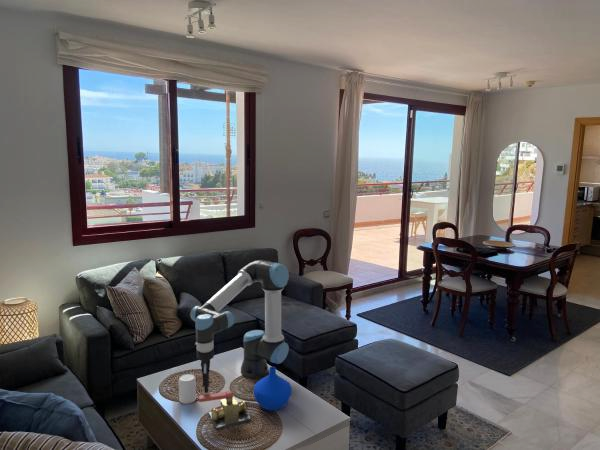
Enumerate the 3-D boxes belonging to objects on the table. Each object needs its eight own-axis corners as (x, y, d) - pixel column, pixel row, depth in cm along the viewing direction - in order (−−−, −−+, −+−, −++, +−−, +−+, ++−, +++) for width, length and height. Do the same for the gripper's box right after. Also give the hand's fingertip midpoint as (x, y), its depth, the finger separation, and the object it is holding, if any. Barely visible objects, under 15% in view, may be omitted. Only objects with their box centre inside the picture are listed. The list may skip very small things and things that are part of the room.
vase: (248, 399, 221) (248, 363, 218) (283, 391, 228) (283, 356, 225) (260, 419, 204) (260, 380, 201) (297, 410, 211) (297, 373, 208)
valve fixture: (241, 406, 215) (241, 386, 213) (250, 420, 203) (250, 399, 202) (208, 414, 208) (208, 394, 206) (216, 429, 196) (216, 408, 195)
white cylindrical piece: (191, 405, 215) (191, 382, 213) (176, 403, 216) (175, 380, 214) (198, 396, 223) (198, 374, 221) (183, 394, 224) (183, 372, 222)
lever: (232, 393, 206) (232, 390, 206) (233, 397, 203) (233, 394, 202) (198, 398, 202) (198, 395, 201) (199, 402, 198) (199, 399, 198)
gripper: (197, 343, 205) (199, 390, 209) (195, 356, 192) (197, 406, 196) (214, 342, 206) (215, 389, 210) (213, 355, 193) (214, 404, 197)
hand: (206, 397), depth 203 cm, fingers closed
